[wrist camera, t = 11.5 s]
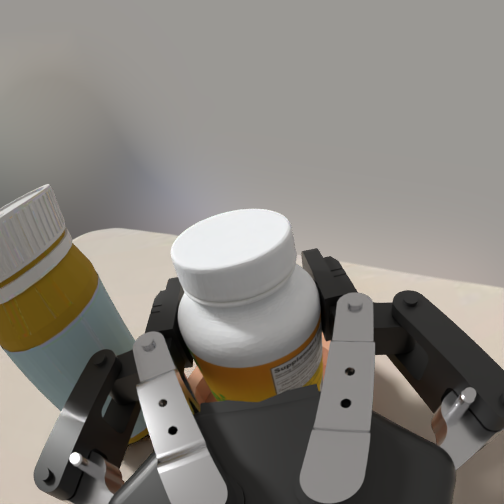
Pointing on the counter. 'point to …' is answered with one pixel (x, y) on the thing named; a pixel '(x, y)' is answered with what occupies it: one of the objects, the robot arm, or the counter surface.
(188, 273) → the supplement bottle
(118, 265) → the counter surface
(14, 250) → the bottle
